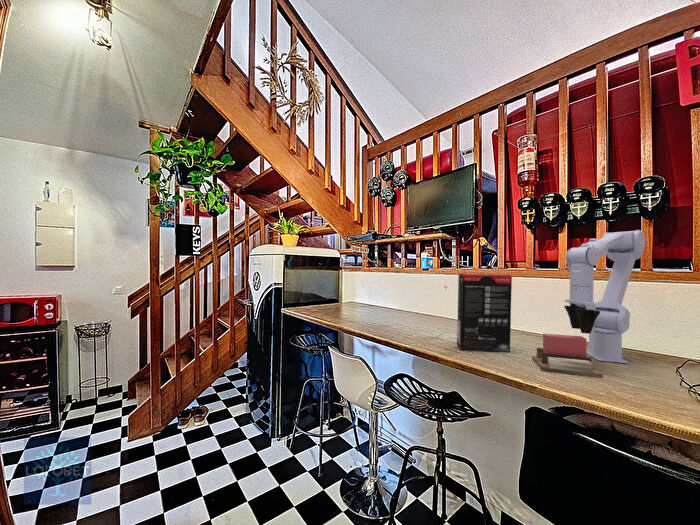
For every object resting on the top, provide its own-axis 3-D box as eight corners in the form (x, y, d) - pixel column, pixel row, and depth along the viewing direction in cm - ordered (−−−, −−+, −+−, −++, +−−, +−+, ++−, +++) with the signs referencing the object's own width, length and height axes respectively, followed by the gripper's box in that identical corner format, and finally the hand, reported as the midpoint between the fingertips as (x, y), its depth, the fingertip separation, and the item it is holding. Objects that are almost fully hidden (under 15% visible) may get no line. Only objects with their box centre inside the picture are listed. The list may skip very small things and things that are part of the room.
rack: (532, 358, 95) (532, 346, 96) (584, 364, 91) (584, 351, 91) (542, 371, 84) (542, 357, 84) (602, 377, 79) (602, 363, 79)
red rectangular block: (543, 359, 92) (543, 333, 92) (581, 362, 89) (581, 336, 89) (546, 362, 89) (546, 335, 89) (586, 366, 85) (586, 338, 85)
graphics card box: (504, 347, 109) (504, 273, 109) (512, 353, 102) (512, 274, 102) (456, 346, 110) (456, 273, 110) (461, 351, 103) (461, 273, 104)
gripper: (558, 284, 98) (557, 325, 98) (574, 286, 85) (573, 334, 85) (583, 285, 96) (583, 327, 96) (604, 288, 82) (604, 336, 82)
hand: (580, 330), depth 90 cm, fingers open, 7 cm apart
